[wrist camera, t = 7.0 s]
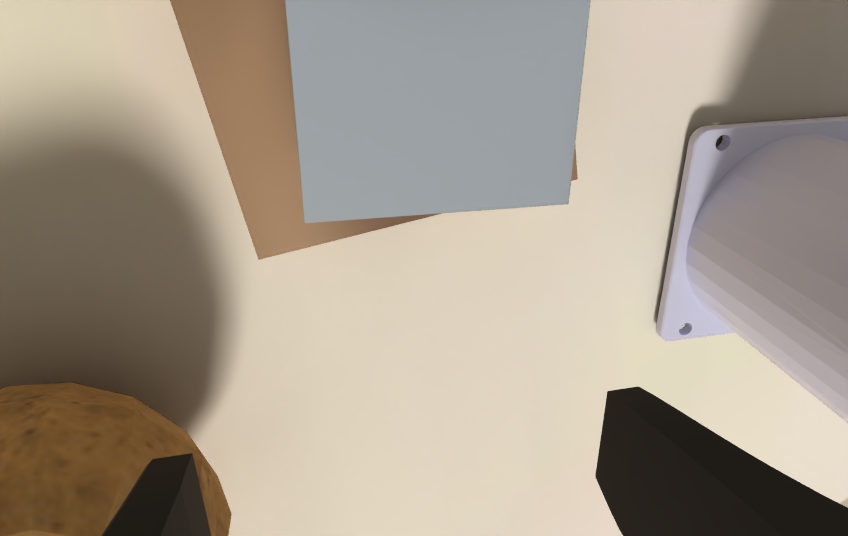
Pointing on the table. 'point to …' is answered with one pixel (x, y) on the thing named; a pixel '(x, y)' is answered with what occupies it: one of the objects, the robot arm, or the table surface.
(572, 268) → the table surface
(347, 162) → the cube
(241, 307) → the table surface
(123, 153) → the table surface
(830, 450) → the table surface
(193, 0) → the walnut block
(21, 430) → the potato
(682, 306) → the robot arm
